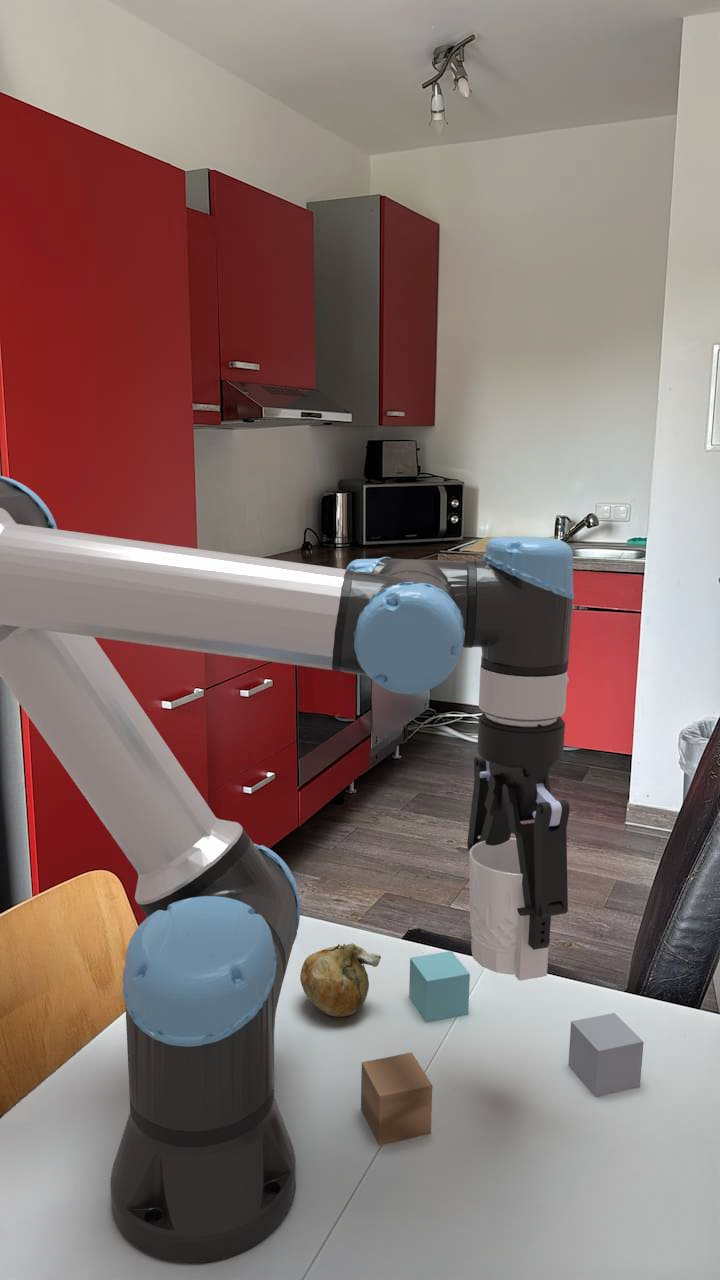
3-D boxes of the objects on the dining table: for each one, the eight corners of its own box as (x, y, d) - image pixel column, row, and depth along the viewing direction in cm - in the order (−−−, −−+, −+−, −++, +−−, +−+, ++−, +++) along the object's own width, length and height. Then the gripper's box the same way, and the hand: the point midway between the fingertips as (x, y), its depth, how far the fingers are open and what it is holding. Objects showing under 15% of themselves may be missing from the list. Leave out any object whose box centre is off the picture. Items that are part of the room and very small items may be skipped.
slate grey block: (595, 1097, 92) (598, 1051, 91) (568, 1066, 96) (571, 1021, 95) (639, 1087, 93) (643, 1041, 92) (611, 1057, 98) (614, 1012, 97)
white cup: (558, 980, 84) (565, 875, 82) (468, 978, 85) (473, 873, 83) (543, 935, 92) (549, 838, 90) (461, 933, 92) (465, 836, 90)
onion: (343, 980, 111) (344, 917, 109) (384, 1013, 105) (386, 946, 103) (287, 1001, 107) (287, 935, 105) (327, 1037, 100) (327, 968, 99)
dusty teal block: (425, 1023, 103) (427, 981, 102) (409, 998, 108) (410, 957, 107) (468, 1015, 105) (469, 973, 104) (449, 991, 109) (451, 951, 108)
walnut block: (378, 1146, 85) (379, 1096, 84) (360, 1110, 89) (361, 1062, 88) (430, 1134, 86) (432, 1085, 85) (410, 1099, 91) (411, 1052, 90)
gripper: (625, 745, 75) (606, 1007, 80) (507, 684, 95) (497, 898, 99) (540, 753, 73) (525, 1022, 78) (437, 689, 92) (430, 908, 97)
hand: (509, 952), depth 88 cm, fingers closed on white cup, 8 cm apart
